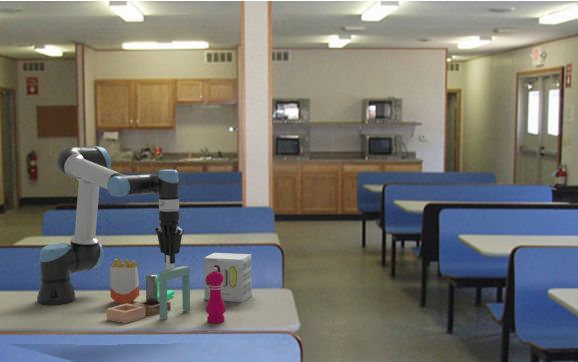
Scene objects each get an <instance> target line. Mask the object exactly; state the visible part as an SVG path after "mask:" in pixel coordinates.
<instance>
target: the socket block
mask: <svg viewBox="0 0 578 362" xmlns="http://www.w3.org/2000/svg"><path fill="white" fill-rule="evenodd" d="M133 305H138V306H143V307H145V315H148V314H149V316H154V314H155V315H157V313H158V314H160V301H159V300H158V304H157V305H153V306H150V305H146V300H143V301H140V302H136V303H133ZM171 308H172V307H171V301H167V312H169V311H171Z"/></svg>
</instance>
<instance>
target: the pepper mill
mask: <svg viewBox="0 0 578 362" xmlns="http://www.w3.org/2000/svg"><path fill="white" fill-rule="evenodd" d="M217 270H218V269H217V268H216V267H214V268H213V272H210V273H209V274H208V276H207V281H208V283H209V289H210V298H209V300H207V303H206V307H205V312H206V314H207V315H208V316H206V317H207V319H206V320H207V321H206V322H208V323H210V324H221V323H224V322H225V315H224V314H225V312H226V310H227V309H226V304H225V301H223V300H222V297H221V289H222V284H221V283H222V282H223V279H224V278H223V275H222V273H220V272H218V271H217Z"/></svg>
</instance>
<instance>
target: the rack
mask: <svg viewBox="0 0 578 362" xmlns="http://www.w3.org/2000/svg"><path fill="white" fill-rule="evenodd" d="M144 317H145V318H146V317H147V316H146V314H145V307H143V306H138V305H134V303H132V304H131V303H122V304H119V305H116V306H112V307H109V308H106V320H107V321H111V320H112V322H116V321H117V323H121V322H122V324H128V322H129V323H131V321H132V322H135V321H139V320H141V318H142V319H145V318H144ZM134 320H135V321H134Z"/></svg>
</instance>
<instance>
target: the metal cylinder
mask: <svg viewBox="0 0 578 362" xmlns="http://www.w3.org/2000/svg"><path fill="white" fill-rule="evenodd" d="M157 275H158V274H155V273H151V274H150V273H149V274H146V275H145V301H146V305H150V306H153V305H157V304H158V284H157Z"/></svg>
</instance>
